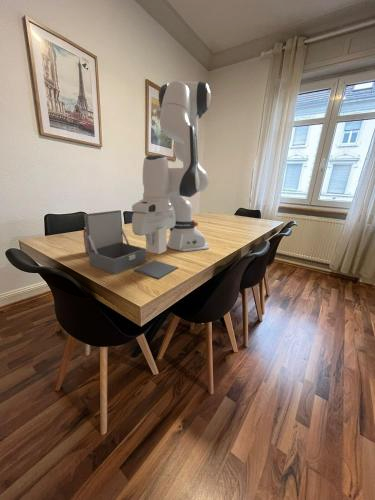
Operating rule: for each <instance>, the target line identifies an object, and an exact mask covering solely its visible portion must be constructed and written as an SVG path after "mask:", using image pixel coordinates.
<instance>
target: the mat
mask: <svg viewBox="0 0 375 500" xmlns="http://www.w3.org/2000/svg"><path fill="white" fill-rule="evenodd" d="M178 269H179V267H178V266H176V265H172V264H169V263H165V262H161V261H158V260H153V261H150V262H149V263H146V264H143V265H141V266H140V267H137V268H134V269H133V271H134V272H137V273H139V274H142V275H145V276H148V277H151V278H154V279H157V280H160V279H162V278H163V277H166V276H167V275H169V274H171V273H172V272H175V271H176V270H178Z"/></svg>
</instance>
